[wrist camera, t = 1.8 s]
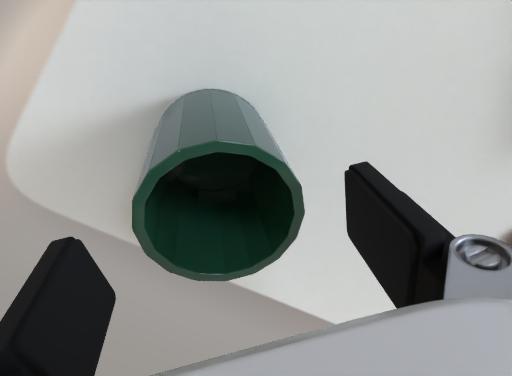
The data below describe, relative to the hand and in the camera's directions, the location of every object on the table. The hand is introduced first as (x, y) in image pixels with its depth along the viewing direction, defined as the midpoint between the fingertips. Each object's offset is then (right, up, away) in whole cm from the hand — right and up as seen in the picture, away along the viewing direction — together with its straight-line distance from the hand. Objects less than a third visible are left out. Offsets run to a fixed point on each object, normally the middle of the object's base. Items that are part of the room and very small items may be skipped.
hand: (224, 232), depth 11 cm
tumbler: (-1, +4, +6) cm, 7 cm away
